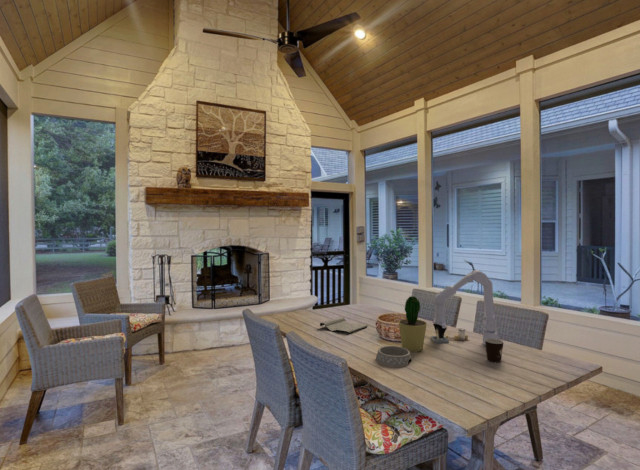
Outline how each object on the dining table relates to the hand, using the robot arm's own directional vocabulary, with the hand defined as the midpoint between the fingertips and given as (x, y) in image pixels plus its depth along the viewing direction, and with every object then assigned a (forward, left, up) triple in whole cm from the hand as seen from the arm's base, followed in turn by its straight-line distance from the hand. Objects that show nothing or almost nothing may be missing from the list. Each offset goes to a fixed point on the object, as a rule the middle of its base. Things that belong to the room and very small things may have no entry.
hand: (439, 337), depth 224 cm
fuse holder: (+3, -11, -3) cm, 12 cm away
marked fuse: (0, 0, -1) cm, 1 cm away
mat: (+33, +54, -4) cm, 63 cm away
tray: (0, 0, -3) cm, 3 cm away
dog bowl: (-29, +35, -3) cm, 45 cm away
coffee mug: (-30, -18, -3) cm, 36 cm away
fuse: (+3, -14, -2) cm, 15 cm away
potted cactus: (-10, +20, -3) cm, 22 cm away
